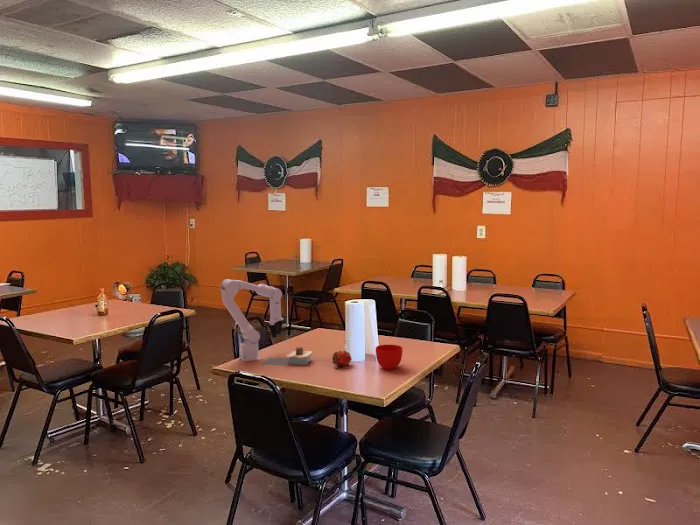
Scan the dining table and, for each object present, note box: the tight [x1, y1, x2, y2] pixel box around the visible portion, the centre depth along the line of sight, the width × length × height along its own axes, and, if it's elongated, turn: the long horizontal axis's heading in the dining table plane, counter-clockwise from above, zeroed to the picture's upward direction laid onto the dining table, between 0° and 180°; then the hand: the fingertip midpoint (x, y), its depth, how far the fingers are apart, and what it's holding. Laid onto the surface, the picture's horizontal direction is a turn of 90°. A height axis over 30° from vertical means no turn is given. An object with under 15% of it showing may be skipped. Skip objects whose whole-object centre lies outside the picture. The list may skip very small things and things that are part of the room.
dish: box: [288, 354, 312, 366], centre depth 273 cm, size 9×9×4 cm
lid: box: [285, 346, 313, 358], centre depth 273 cm, size 11×11×4 cm
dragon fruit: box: [331, 350, 352, 368], centre depth 267 cm, size 8×8×12 cm
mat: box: [260, 357, 289, 366], centre depth 275 cm, size 13×13×1 cm
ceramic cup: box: [375, 344, 403, 371], centre depth 264 cm, size 13×17×10 cm
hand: (276, 335), depth 290 cm, fingers open, 7 cm apart
